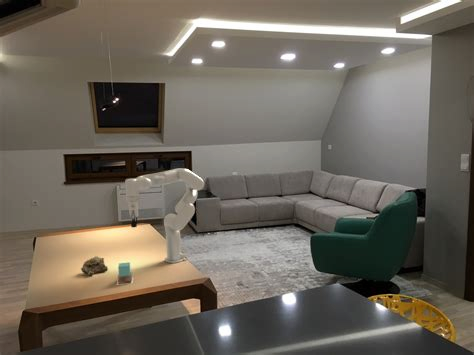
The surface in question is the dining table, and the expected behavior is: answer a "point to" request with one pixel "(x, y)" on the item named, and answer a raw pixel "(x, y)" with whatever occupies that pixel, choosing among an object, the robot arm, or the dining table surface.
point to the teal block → (124, 269)
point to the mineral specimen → (94, 266)
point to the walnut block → (124, 279)
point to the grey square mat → (126, 283)
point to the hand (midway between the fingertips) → (134, 225)
